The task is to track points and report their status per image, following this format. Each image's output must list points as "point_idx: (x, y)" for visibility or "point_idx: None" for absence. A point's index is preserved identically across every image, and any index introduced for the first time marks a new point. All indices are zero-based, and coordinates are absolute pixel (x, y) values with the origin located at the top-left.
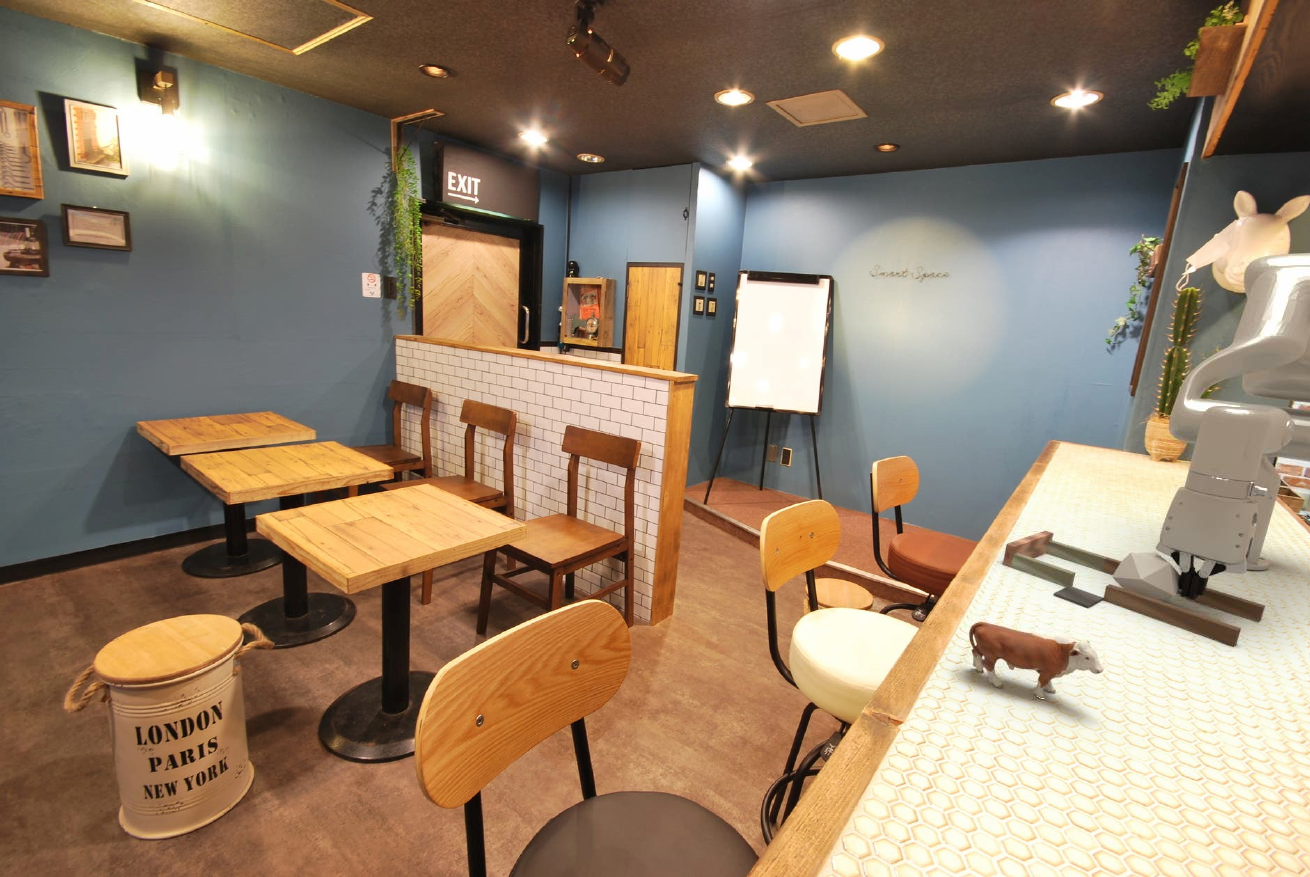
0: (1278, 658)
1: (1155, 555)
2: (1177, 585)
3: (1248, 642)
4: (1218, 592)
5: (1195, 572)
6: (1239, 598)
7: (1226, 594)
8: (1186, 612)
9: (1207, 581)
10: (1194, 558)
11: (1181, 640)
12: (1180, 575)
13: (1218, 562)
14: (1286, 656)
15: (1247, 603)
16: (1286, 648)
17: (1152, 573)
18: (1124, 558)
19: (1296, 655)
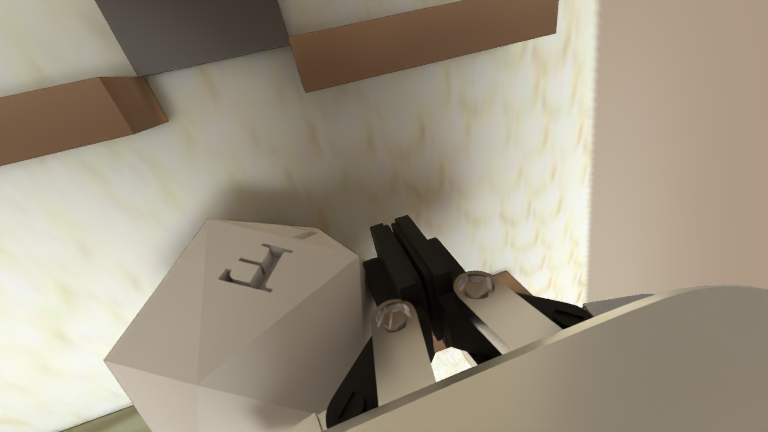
0: (562, 247)
1: (256, 424)
2: (375, 305)
3: (518, 235)
4: (409, 39)
5: (422, 298)
6: (481, 16)
7: (436, 24)
8: (443, 346)
9: (459, 266)
10: (427, 354)
11: (449, 356)
12: (360, 288)
13: (556, 331)
14: (572, 221)
15: (509, 42)
16: (572, 175)
17: None
18: (133, 403)
19: (586, 192)
